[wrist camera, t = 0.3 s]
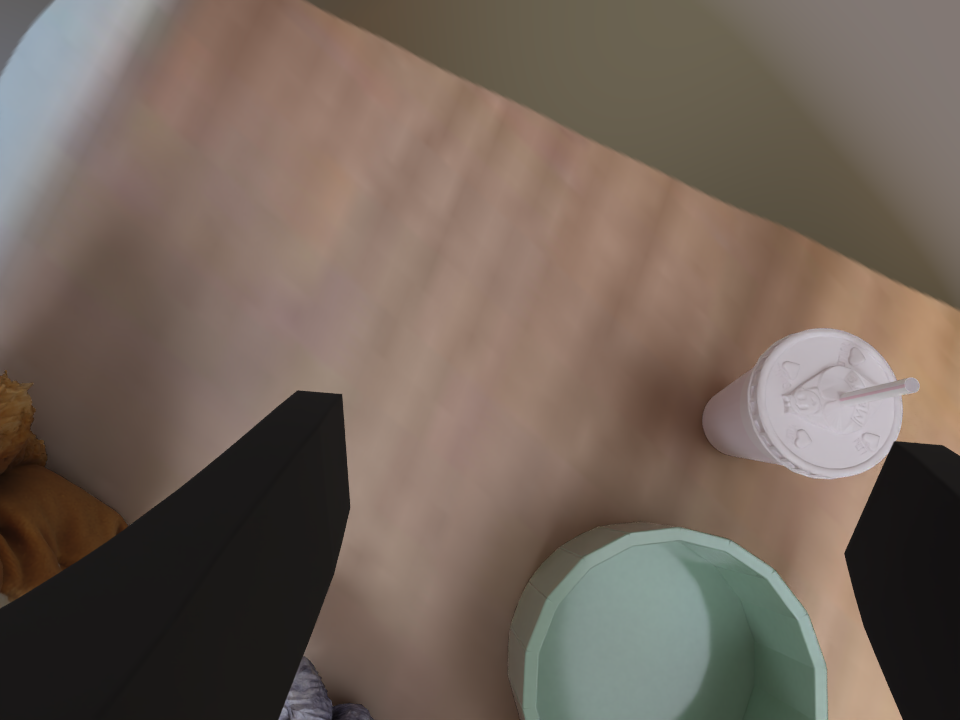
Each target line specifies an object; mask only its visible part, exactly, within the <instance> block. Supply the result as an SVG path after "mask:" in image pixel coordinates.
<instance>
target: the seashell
mask: <svg viewBox="0 0 960 720" xmlns="http://www.w3.org/2000/svg"><path fill="white" fill-rule="evenodd" d="M279 720H374V719H373V718H372V717H371V715H370V714H369V711H368V710H367V709H366V708H365V707H364V706H363V705H362V704H352V703H347V704H339V705H336V706H332V701H331V700H330V699H329V697H328V696H327V690H326V689H325V686H324V684H323V683H322V681H321V677H320V676H318V672H317V671H316V670H315V667H314V665H313V664H312V663H311V661H309V660H308V659H307V658H306V657H305V656H303V657H302V660H301V662H300V665H299V668H298V670H297V673H296V675H295V678H294V681H293V683H292V686H291V688H290V691H289V694H288V696H287V699H286V701H285V704H284V707H283V709H282V712H281V714H280V717H279Z"/></svg>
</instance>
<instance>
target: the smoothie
mask: <svg viewBox="0 0 960 720" xmlns="http://www.w3.org/2000/svg"><path fill="white" fill-rule="evenodd" d="M918 390H919V382H918V381H917V380H916V379H915V378H906V379H902V380H898V381H897V379H896V377H895V375H894V373H893V371H892V369H891V368H890V366H889V365H888V363H887V362H886V360H885V359H884V358H883V357H882V355H881V354H880V353H879V352H878V351H877V350H876V349H874V348H873V347H872V346H871V345H870V344H868V343H867V342H866V341H864V340H862V339H861V338H859V337H857V336H855V335H853V334H850V333H848V332H845V331H841V330H837V329H830V328H816V329H809V330H805V331H802V332H799V333H794V334H790V335H788V336H786V337H784V338H782V339H780V340H778V341H776V342H775V343H773V344H772V345H771V346H770V347H769V348H768V349H767V350H766V351H765V352H764V353H763V354H762V355H761V356H760V358H759V359H758V361H757V363H756V365H755V366H754V367H753V368H751V369H750V370H749V371H747V372H746V373H745V374H743V375H742V376H740V377H739V378H738V379H736V380H735V381H734V382H732V383H731V384H729V385H728V386H727V387H725V388H724V389H723V390H721V391H720V392H718V393H717V394H716V395H714V396H713V397H712V398H711V399H710V400H709V402H708V403H707V405H706V407H705V409H704V412H703V418H702V423H703V429H704V433H705V435H706V437H707V439H708V441H709V442H710V443H711V444H712V446H713V447H715V448H716V449H717V450H718V451H720V452H722V453H724V454H726V455H729V456H734V457H740V458H745V459H751V460H756V461H762V462H767V463H773V464H778V465H784V466H785V467H787V468H788V469H790V470H791V471H793V472H795V473H798V474H801V475H804V476H807V477H810V478H815V479H836V478H840V477H848V476H853V475H857V474H860V473H862V472H865V471H867V470H869V469H870V468H872V467H874V466H875V465H876V464H878V463H879V462H880V461H881V460H882V459H883V458H884V457H885V456H886V455H887V454H888V453H889V451H890V449H891V447H892V445H893V442H894V441H896V439H897V437H898V434H899V431H900V428H901V423H902V414H903V405H902V397H901V395H905V394H910V393H915V392H917V391H918Z"/></svg>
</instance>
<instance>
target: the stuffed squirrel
mask: <svg viewBox="0 0 960 720" xmlns="http://www.w3.org/2000/svg"><path fill="white" fill-rule="evenodd" d="M7 377H8V376H7V370H5V374H3V375H2V376H0V608H2V607H3V606H5V605H7V604H9V603H11V602H12V601H14V600H16V599H17V598H19V597H21V596H22V595H24V594H26V593H27V592H29V591H31V590H32V589H34V588H36V587H37V586H39V585H40V584H42V583H44V582H45V581H47V580H48V579H50V578H52V577H53V576H55V575H56V574H58V573H60V572H61V571H63V570H64V569H66V568H68V567H69V566H71V565H72V564H74V563H75V562H77V561H79V560H80V559H82V558H83V557H85V556H86V555H88V554H89V553H91V552H92V551H94V550H95V549H97V548H98V547H100V546H101V545H103V544H104V543H106V542H107V541H108V540H110V539H111V538H113V537H114V536H116V535H117V534H119V533H120V532H121V531H123V530H124V529H125V528H127V527H128V525H127V524H126V522H125V521H124V519H123V518H122V517H121V515H119V514H118V513H117V512H116V511H115V510H113V509H112V508H110V507H109V506H107V505H106V504H104V503H102V502H101V501H99V500H98V499H96V498H95V497H93V496H92V495H90V494H89V493H87V492H86V491H85V490H83V489H81V488H80V487H78V486H76V485H75V484H73V483H71V482H69V481H68V480H66V479H65V478H63V477H61V476H59V475H58V474H56V473H54V472H52V471H50V470H48V469H46V468H45V465H46V461H47V454H46V451H45V445H43V444H44V440H38V438H37V439H36V435H34V434H33V433H32V431H30V426H31V423H32V422H33V420H34V418H33V415H34V413H35V412H36V409H35V408H33V406H32V405H31V403H33V402H32V401H31V397H30V395H29V394H28V392H27V391H28V389H29V388H30V387H31V386H32V385H33V384H34V383H32V382H31V383H22V384H19V383H18V382H17V381H15V380H14V381H12V382H11V381H10V379H9V378H7Z"/></svg>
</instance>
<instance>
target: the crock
mask: <svg viewBox="0 0 960 720" xmlns="http://www.w3.org/2000/svg"><path fill="white" fill-rule="evenodd" d="M508 679H509V682H510V686H511V689H512V693H513V697H514V700H515V703H516V707H517V710H518V714H519V717H520V720H828V697H827V667H826V663H825V660H824V657H823V654H822V652H821V649H820V646H819V643H818V640H817V637H816V634H815V632H814V629H813V626H812V623H811V620H810V617H809V615H808V614H807V611H806V610H805V608H804V607H803V606H802V604H801V603H800V602H799V601H798V599H797V598H796V597H795V595H794V594H793V593H792V591H791V590H790V589H789V587H788V586H787V585H786V584H785V582H784V581H783V580H782V578H781V577H780V576H779V574H778V573H777V572H776V570H774V569H773V568H772V567H771V566H769V565H768V564H766V563H765V562H763V561H762V560H760V559H759V558H757V557H756V556H754V555H753V554H751V553H750V552H748V551H747V550H745V549H744V548H742V547H741V546H739V545H738V544H736V543H735V542H733V541H732V540H729V539H727V538H723V537H719V536H715V535H711V534H707V533H703V532H699V531H695V530H691V529H687V528H683V527H677V526H670V525H663V524H656V523H649V522H641V521H640V522H632V523H621V524H612V525H606V526H599V527H596V528H594V529H592V530H590V531H588V532H585V533H583V534H581V535H579V536H577V537H575V538H573V539H572V540H570V541H568V542H566V543H565V544H564V545H562V546H560V547H559V548H557V550H556V551H554V552H553V553H552V554H551V555H550V556H549V557H548V558H547V559H546V560H545V561H544V562H543V563H542V564H541V565H540V567H539V568H538V569H537V571H536V572H535V573H534V574H533V576H532V577H531V579H530V580H529V582H528V583H527V585H526V587H525V589H524V590H523V592H522V595H521V597H520V599H519V602H518V604H517V606H516V609H515V613H514V616H513V619H512V622H511V626H510V634H509V641H508Z"/></svg>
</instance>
